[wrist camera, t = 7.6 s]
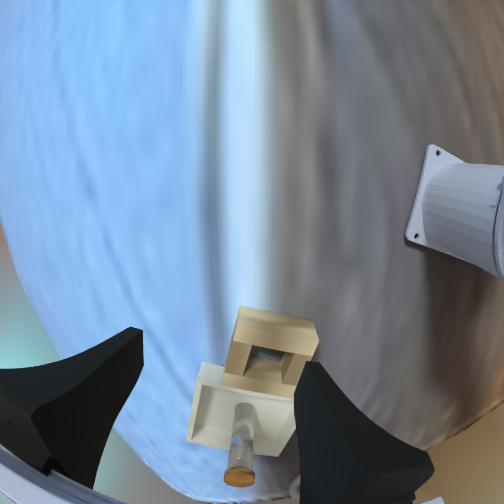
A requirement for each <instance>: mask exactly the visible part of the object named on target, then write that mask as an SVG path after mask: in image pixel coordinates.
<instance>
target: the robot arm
mask: <svg viewBox="0 0 504 504" xmlns="http://www.w3.org/2000/svg"><path fill="white" fill-rule="evenodd" d="M436 151H438V156H437V155H436ZM415 234H417V238H414V236H415ZM405 237H406V239H408V240H409V241H412V242H415V243H418V244H420V245H423V246H426V247H429V248H432V249H434V250H437V251H440V252H443V253H445V254H448V255H451V256H453V257H456V258H459V259H461V260H464V261H467V262H469V263H472V264H474V265H476V266H478V267H480V268H482V269H484V270H485V271H487V272H489V273H491V274H492V275H494V276H496V277H497V278H499V279H501V280H503V281H504V166H500V165H486V164H468V163H465V162H463V161H462V160H460V159H458V158H457V157H455V156H453V155H452V154H450V153H448V152H446V151H445V150H443V149H441V148H439V147H437V146H435V145H429V146H428V147H427V150H426V155H425V160H424V165H423V169H422V174H421V178H420V182H419V186H418V190H417V194H416V198H415V202H414V205H413V209H412V212H411V216H410V219H409V222H408V226H407V229H406V232H405ZM143 366H144V357H143V330H141V329H137V328H134V327H129V328H127V329H125V330H123V331H122V332H120V333H118V334H116V335H115V336H113V337H111V338H109V339H107V340H106V341H104V342H102V343H100V344H98V345H96V346H94V347H92V348H90V349H88V350H86V351H84V352H82V353H79V354H77V355H74V356H72V357H69V358H66V359H63V360H60V361H57V362H53V363H49V364H45V365H40V366H34V367H27V368H16V369H0V494H1V495H2V496H4V497H5V498H6V499H7V500H9V501H10V502H11V503H13V504H127V503H124V502H121V501H118V500H116V499H113V498H111V497H108V496H106V495H103V494H101V493H99V492H96V491H94V490H93V486H94V482H95V477H96V474H97V470H98V466H99V463H100V459H101V456H102V453H103V450H104V447H105V445H106V442H107V439H108V436H109V434H110V431H111V429H112V426H113V424H114V422H115V420H116V418H117V416H118V414H119V412H120V411H121V409H122V407H123V405H124V404H125V402H126V400H127V399H128V397H129V395H130V393H131V392H132V390H133V388H134V386H135V385H136V383H137V381H138V378H139V376H140V373H141V371H142V368H143ZM294 417H295V424H296V431H297V438H298V444H299V451H300V500H299V504H413V503H412V501H414V500H415V498H416V497H415V494H414V492H415V491H416V490H417V489H418V488H419V487H421V486H422V485H423V484H424V483H425V482H426V481H427V480H428V479H429V478H430V477H431V476H432V474H433V473H434V470H435V468H434V466H433V463H432V462H431V459H430V457H429V455H428V453H427V452H425V451H423V450H420V449H418V448H416V447H413V446H411V445H409V444H407V443H405V442H403V441H401V440H399V439H397V438H396V437H394V436H392V435H391V434H389V433H388V432H386V431H385V430H383V429H382V428H380V427H379V426H378V425H376V424H375V423H374V422H372V421H371V420H370V419H369V418H368V417H367V416H366V415H364V414H363V413H362V412H361V411H360V410H359V409H358V408H357V407H356V406H355V405H354V404H353V403H352V402H351V401H350V400H349V399H348V398H347V396H346V395H345V394H344V393H343V392H342V391H341V389H340V388H339V387H338V386H337V384H336V383H335V382H334V381H333V379H332V378H331V377H330V375H329V374H328V373H327V372H326V370H325V369H324V368H323V366H322V365H321V364H320V363H319V362H312V361H306V363H305V365H304V368H303V371H302V373H301V376H300V379H299V381H298V384H297V386H296V389H295V392H294ZM420 504H444V502H443V499H442V497H437V498H434V499H431V500H428V501H425V502H422V503H420Z"/></svg>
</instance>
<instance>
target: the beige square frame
mask: <svg viewBox="0 0 504 504" xmlns="http://www.w3.org/2000/svg"><path fill="white" fill-rule="evenodd" d="M318 343H319V339H318V336H317V333H316V330H315V327H314V324H313V321H310V320H305V319H300V318H295V317H290V316H286V315H281V314H276V313H272V312H267V311H263V310H258V309H254V308H250V307H246V306H241V305H240V308H239V312H238V316H237V320H236V324H235V328H234V331H233V335H232V339H231V343H230V347H229V350H228V354H227V358H226V362H225V367H224V373H223V378H222V383H221V385H225V386H229V387H234V388H239V389H244V390H249V391H254V392H260V393H265V394H271V395H278V396H284V397H291V398H293V397H294V392H295V389H296V386H297V384H298V381H299V379H300V376H301V373H302V371H303V368H304V365H305V363H306V361H311V359H312V356H313V354H314V352H315V350H316V347H317V345H318ZM252 345H255V346H259V347H264V348H269V349H274V350H279V351H284V353H283V355H282V358H281V360H280V361H275V360H270V359H265V358H260V357H255V356H250V355H249V354H250V350H251V347H252Z"/></svg>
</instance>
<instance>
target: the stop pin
mask: <svg viewBox="0 0 504 504" xmlns="http://www.w3.org/2000/svg"><path fill="white" fill-rule="evenodd" d="M254 420H255V407H254V406H253V405H252V404H250V403H246V402H242V403H239V404H237V405H236V406H235V409H234V418H233V426H232V435H231V444H230V452H229V461H228V469H227V470H226V471H225V473H224V482H225V483H226V484H228V485H230V486H234V487H248V486H251V485H253V484H254V483H255V473H254V472H253V471H252V470H253V446H254Z"/></svg>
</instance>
